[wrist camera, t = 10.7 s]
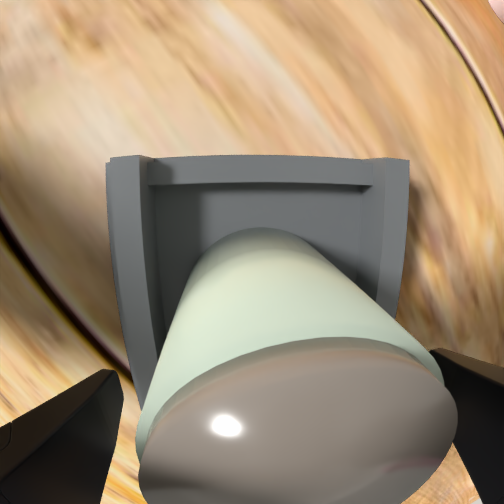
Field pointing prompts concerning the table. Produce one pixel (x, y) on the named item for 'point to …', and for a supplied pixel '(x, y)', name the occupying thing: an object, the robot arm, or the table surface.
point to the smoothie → (498, 8)
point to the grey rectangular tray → (244, 227)
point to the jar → (288, 387)
